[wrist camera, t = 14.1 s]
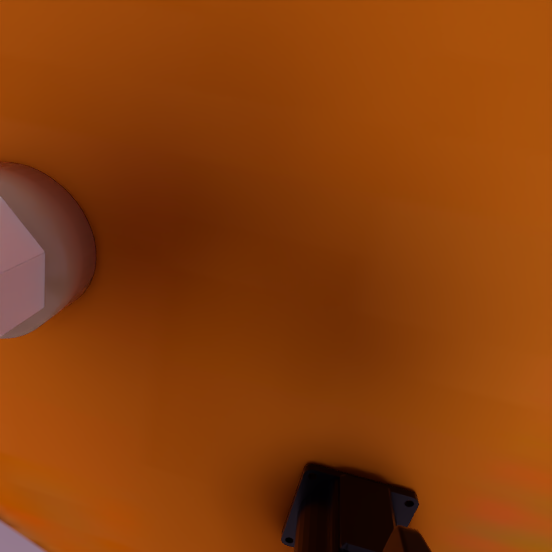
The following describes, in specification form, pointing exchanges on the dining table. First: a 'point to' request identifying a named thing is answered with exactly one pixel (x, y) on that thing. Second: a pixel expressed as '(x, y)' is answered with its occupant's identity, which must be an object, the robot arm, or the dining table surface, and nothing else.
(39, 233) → the spice pot
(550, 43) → the dining table surface
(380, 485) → the robot arm
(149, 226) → the dining table surface
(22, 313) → the cap
